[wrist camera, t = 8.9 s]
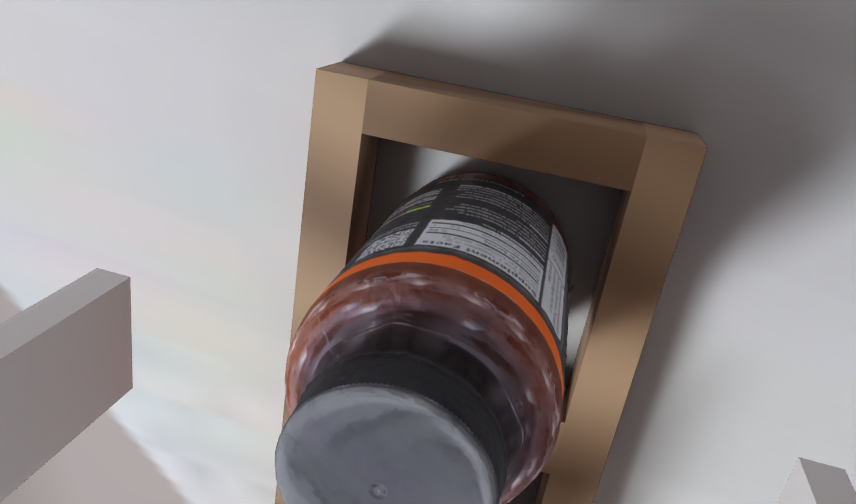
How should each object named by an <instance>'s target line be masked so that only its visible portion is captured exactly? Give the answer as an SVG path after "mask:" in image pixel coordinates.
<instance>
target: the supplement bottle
mask: <svg viewBox="0 0 856 504" xmlns="http://www.w3.org/2000/svg"><path fill="white" fill-rule="evenodd" d="M570 285H571V264H570V258H569V251H568V247H567V244H566V240H565V237H564V234H563V232H562V230H561V227H560V225H559V224H558V222H557V221H556V219H555V217H554V215H553V214H552V213H551V211H550V210H549V208H548V207H547V206H546V205H545V204H544V203H543V202H542V201H541V200H540V199H539V198H538V197H536V196H535V195H534V194H532V193H531V192H530V191H528V190H527V189H525V188H524V187H522V186H520V185H518V184H516V183H514V182H512V181H510V180H507V179H504V178H500V177H498V176H494V175H489V174H482V173H464V174H458V175H451V176H448V177H443V178H441V179H439V180H436V181H433V182H431V183H429V184H427V185H425V186H423V187H422V188H421V189H419V190H418V191H417V192H415V193H413V194H412V195H411V196H410V197H408V198H407V199H406V200H405V201H403V202H402V203H401V204H400V206H399V207H398V208H397V209H396V210H395V211H394V212H393V214H392V215H391V216H390V217H389V218H388V219H387V220H386V221H385V222H384V224H383V225H382V226H381V227H380V228H379V229H378V230H377V231H376V232H375V233H374V234H373V236H372V237H371V238H370V239H369V240H368V241H367V242H366V243H365V244H364V246H363V247H362V248H361V249H360V250H359V251H358V253H357V254H356V255H355V256H354V257H353V258H352V259H351V260H350V262H349V263H348V264H347V265H346V266H345V267H344V268H343V269H342V270H341V272H340V273H339V274H338V275H337V276H336V277H335V278H334V279H333V281H332V282H331V283H330V284H329V285H328V287H327V288H326V289H325V290H324V291H323V293H322V294H321V295H320V296H319V297H318V298H317V300H316V301H315V302H314V303H313V304H312V306H311V307H310V308H309V310H308V311H307V313H306V315H305V316H304V318H303V320H302V322H301V324H300V325H299V327H298V329H297V331H296V333H295V336H294V338H293V340H292V343H291V345H290V348H289V352H288V357H287V363H286V373H285V395H286V402H287V406H288V410H289V414H290V417H289V418H288V420H287V422H286V423H285V425H284V426H283V429H282V432H281V434H280V436H279V439H278V442H277V446H276V451H275V470H276V480H277V484H278V487H279V490H280V493H281V496H282V499H283V501H284V503H285V504H505V503H508V502H510V501H511V500H512V499H513V498H515V497H516V496H518V495H519V494H520V493H521V492H522V491H523V490H524V489H525V488H526V487H527V486H528V485H529V484H530V483H531V482H532V481H533V480H534V479H535V478H536V477H537V476H538V475H539V473H540V472H541V471H542V468H543V467H544V465H545V464H546V463H547V461H548V459H549V457H550V455H551V453H552V451H553V449H554V447H555V444H556V441H557V438H558V434H559V430H560V424H561V418H562V404H563V397H564V393H565V380H564V376H565V368H566V358H567V355H566V347H567V335H568V313H569V299H570V295H571V291H572V290H573V287H574V285H572V286H571V289H570Z"/></svg>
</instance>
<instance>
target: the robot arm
mask: <svg viewBox="0 0 856 504" xmlns="http://www.w3.org/2000/svg"><path fill="white" fill-rule="evenodd" d="M132 388H133V383H132V337H131V290H130V277H128V276H125V275H121V274H117V273H113V272H110V271H106V270H102V269H99V268H97V269H95V270H93V271H91V272H90V273H88V274H86V275H84V276H83V277H81V278H79V279H77V280H76V281H74V282H72V283H70V284H69V285H67V286H65V287H63V288H62V289H60V290H58V291H57V292H55V293H53V294H51V295H50V296H48V297H46V298H44V299H43V300H41V301H39V302H37V303H36V304H34V305H32V306H30V307H29V308H27V309H25V310H23V311H22V312H20V313H18V314H17V315H15V316H13V317H11V318H10V319H8V320H6V321H4V322H3V323H1V324H0V502H2V501H3V500H4V499H5V498H6V497H7V496H8V495H10V494H11V493H12V492H13V491H14V490H15V489H17V488H18V487H19V486H20V485H21V484H22V483H23V482H25V481H26V480H27V479H28V478H29V477H30V476H32V475H33V474H34V473H35V472H36V471H37V470H38V469H39V468H41V467H42V466H43V465H44V464H45V463H46V462H48V461H49V460H50V459H51V458H52V457H53V456H55V455H56V454H57V453H58V452H59V451H60V450H61V449H63V448H64V447H65V446H66V445H67V444H68V443H69V442H71V441H72V440H73V439H74V438H75V437H76V436H78V435H79V434H80V433H81V432H82V431H83V430H84V429H86V428H87V427H88V426H89V425H90V424H91V423H93V422H94V421H95V420H96V419H97V418H98V417H99V416H101V415H102V414H103V413H104V412H105V411H106V410H108V409H109V408H110V407H111V406H112V405H113V404H114V403H116V402H117V401H118V400H119V399H120V398H121V397H123V396H124V395H125V394H126V393H127V392H128V391H129V390H131V389H132ZM777 504H856V492H855V490H854V488H853V486H852V484H851V482H850V480H849V478H848V475H847V473H846V471H845V470H844V469H841V468H837V467H833V466H829V465H826V464H822V463H818V462H815V461H811V460H807V459H803V458H800V457H799V458H798V460H797V462H796V464H795V466H794V468H793V470H792V472H791V474H790V477H789V479H788V481H787V483H786V485H785V487H784V489H783V491H782V494H781V496H780V498H779V500H778V502H777Z"/></svg>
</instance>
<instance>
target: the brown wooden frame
mask: <svg viewBox="0 0 856 504" xmlns="http://www.w3.org/2000/svg"><path fill="white" fill-rule="evenodd" d="M379 137H380V138H385V139H389V140H394V141H398V142H403V143H408V144H412V145H417V146H422V147H426V148H431V149H436V150H440V151H445V152H450V153H454V154H459V155H464V156H468V157H473V158H478V159H482V160H487V161H491V162H496V163H501V164H505V165H510V166H515V167H519V168H524V169H529V170H533V171H538V172H543V173H547V174H552V175H557V176H561V177H566V178H571V179H575V180H580V181H584V182H589V183H594V184H598V185H603V186H608V187H612V188H617V189H622V190H623V193H622V197H621V200H620V204H619V207H618V211H617V214H616V218H615V221H614V225H613V228H612V232H611V235H610V239H609V242H608V246H607V250H606V253H605V257H604V260H603V264H602V267H601V271H600V274H599V278H598V281H597V285H596V288H595V292H594V295H593V299H592V302H591V306H590V310H589V313H588V317H587V320H586V324H585V327H584V331H583V334H582V338H581V341H580V345H579V348H578V352H577V355H576V359H575V363H574V366H573V370H572V373H571V377H570V380H569V384H568V387H567V388H565V393H564V397H563V404H562V418H561V424H560V430H559V434H558V438H557V441H556V444H555V447H554V449H553V451H552V453H551V455H550V457H549V459H548V461H547V463H546V464H545V465H544V467H543V468H542V471H541V472H543V476H542V479H541V483H540V486H539V490H538V493H537V497H536V500H535V504H592V502H593V499H594V496H595V493H596V490H597V487H598V484H599V481H600V478H601V475H602V471H603V468H604V465H605V462H606V459H607V456H608V453H609V450H610V447H611V444H612V441H613V438H614V435H615V431H616V428H617V425H618V422H619V419H620V416H621V413H622V410H623V407H624V404H625V401H626V398H627V395H628V391H629V388H630V385H631V382H632V379H633V376H634V373H635V370H636V367H637V364H638V361H639V358H640V355H641V351H642V348H643V345H644V342H645V339H646V336H647V333H648V330H649V327H650V324H651V321H652V318H653V315H654V311H655V308H656V305H657V302H658V299H659V296H660V293H661V290H662V287H663V284H664V281H665V278H666V275H667V271H668V268H669V265H670V262H671V259H672V256H673V253H674V250H675V247H676V244H677V241H678V238H679V235H680V231H681V228H682V225H683V222H684V219H685V216H686V213H687V210H688V207H689V204H690V201H691V198H692V195H693V191H694V188H695V185H696V182H697V179H698V176H699V173H700V170H701V167H702V164H703V161H704V158H705V155H706V151H707V147H706V146H705V144H704V143H703V141H702V140H701V138H700V137H699V136H698V134H697V133H694V132H689V131H684V130H679V129H674V128H669V127H664V126H659V125H654V124H649V123H644V122H639V121H634V120H629V119H624V118H619V117H614V116H609V115H604V114H599V113H594V112H589V111H584V110H579V109H574V108H569V107H564V106H559V105H554V104H549V103H544V102H539V101H534V100H529V99H524V98H519V97H514V96H509V95H504V94H499V93H494V92H489V91H484V90H479V89H474V88H469V87H464V86H459V85H454V84H449V83H444V82H439V81H434V80H429V79H424V78H419V77H414V76H409V75H404V74H399V73H394V72H389V71H384V70H379V69H374V68H369V67H364V66H359V65H354V64H349V63H344V62H338V63H335V64H331V65H328V66H325V67H321V68H318V69H316V76H315V87H314V97H313V108H312V118H311V129H310V140H309V150H308V161H307V171H306V182H305V192H304V203H303V213H302V224H301V234H300V245H299V256H298V266H297V277H296V287H295V298H294V308H293V319H292V329H291V340H290V345H291V343H292V340H293V338H294V336H295V333H296V331H297V329H298V327H299V325H300V324H301V322H302V320H303V318H304V316H305V315H306V313H307V311H308V310H309V308H310V307H311V306H312V304H313V303H314V302H315V301H316V300H317V298H318V297H319V296H320V295H321V294H322V293H323V291H324V290H325V289H326V288H327V287H328V285H329V284H330V283H331V282H332V281H333V279H334V278H335V277H336V276H337V275H338V274H339V273H340V272H341V270H342V269H343V268H344V267H345V266H346V265H347V264H348V263H349V262H350V260H351V259H352V258H353V257H354V256H355V255H356V254H357V253H358V251H359V250H360V249H361V248H362V247H363V246H364V244H365V240H366V233H367V225H368V218H369V210H370V203H371V196H372V188H373V181H374V173H375V166H376V158H377V151H378V144H379ZM289 417H290V414H289V410H288V406H287V402H286V395H285V403H284V414H283V424H282V429H283V426H284V425H285V423H286V422H287V420H288V418H289ZM275 504H285V503H284V501H283V499H282V496H281V493H280V490H279V487H278V484H277V488H276V498H275Z"/></svg>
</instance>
